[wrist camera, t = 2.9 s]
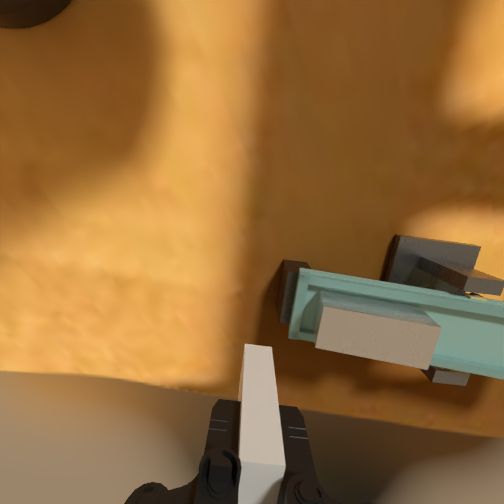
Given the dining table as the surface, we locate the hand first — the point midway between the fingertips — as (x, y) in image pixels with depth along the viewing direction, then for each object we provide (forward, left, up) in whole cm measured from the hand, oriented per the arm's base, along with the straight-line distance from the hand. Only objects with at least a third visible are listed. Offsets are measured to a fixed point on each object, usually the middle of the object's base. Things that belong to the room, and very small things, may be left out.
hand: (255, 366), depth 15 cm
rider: (0, +9, -8) cm, 12 cm away
